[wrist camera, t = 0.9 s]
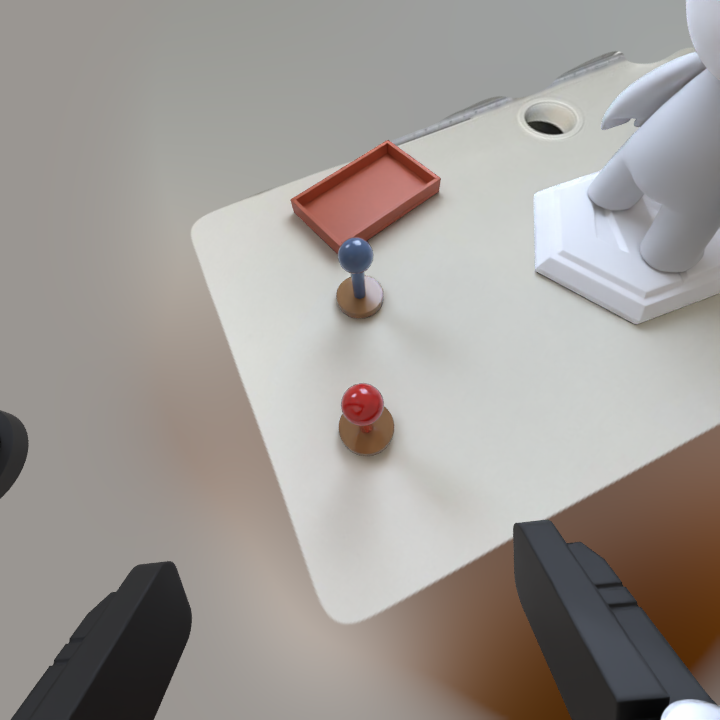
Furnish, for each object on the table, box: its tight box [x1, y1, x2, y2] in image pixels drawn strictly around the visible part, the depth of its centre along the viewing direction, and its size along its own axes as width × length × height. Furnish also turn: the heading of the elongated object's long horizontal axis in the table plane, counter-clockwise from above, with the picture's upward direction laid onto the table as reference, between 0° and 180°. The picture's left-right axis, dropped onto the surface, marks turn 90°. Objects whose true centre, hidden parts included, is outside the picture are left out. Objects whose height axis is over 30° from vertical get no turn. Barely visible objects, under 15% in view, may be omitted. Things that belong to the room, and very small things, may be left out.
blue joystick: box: [336, 237, 383, 318], centre depth 40 cm, size 5×5×9 cm
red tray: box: [291, 140, 441, 254], centre depth 49 cm, size 16×10×2 cm, turn 129°
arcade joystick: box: [339, 383, 394, 456], centre depth 34 cm, size 5×5×9 cm
